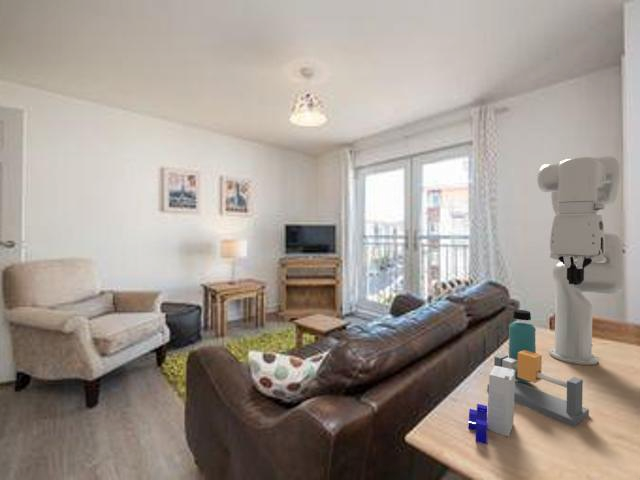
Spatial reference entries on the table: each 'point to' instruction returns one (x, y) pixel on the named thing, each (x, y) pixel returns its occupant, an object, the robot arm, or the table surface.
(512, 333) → the beverage bottle
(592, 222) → the robot arm
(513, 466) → the table surface
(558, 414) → the rail
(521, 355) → the orange rectangular block
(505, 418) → the skincare box
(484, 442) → the cable holder
